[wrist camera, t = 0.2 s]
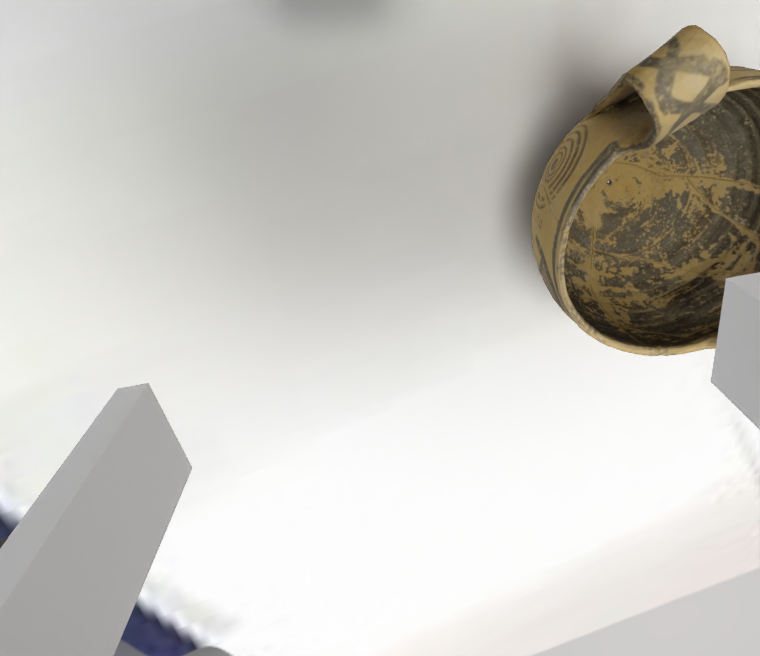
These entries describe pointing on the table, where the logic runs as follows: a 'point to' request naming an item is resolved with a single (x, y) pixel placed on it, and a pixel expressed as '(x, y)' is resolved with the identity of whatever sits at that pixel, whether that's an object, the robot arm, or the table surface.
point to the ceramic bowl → (655, 201)
